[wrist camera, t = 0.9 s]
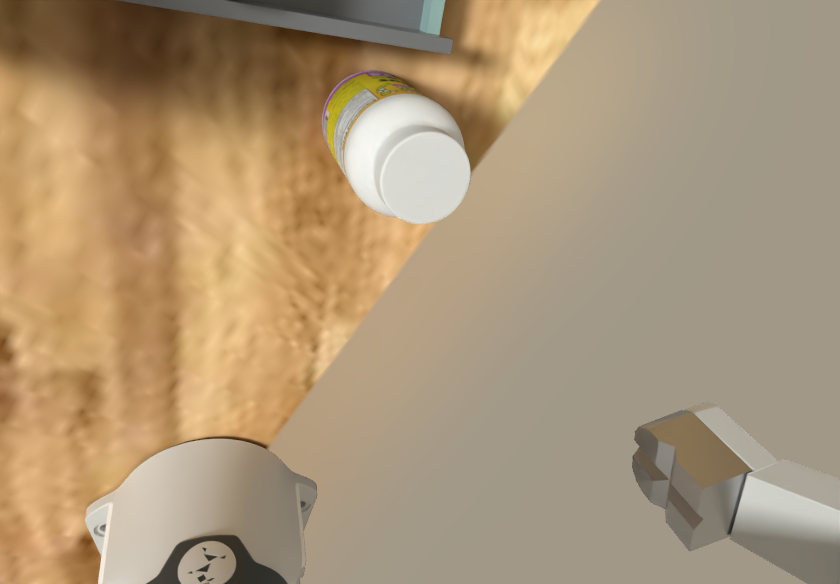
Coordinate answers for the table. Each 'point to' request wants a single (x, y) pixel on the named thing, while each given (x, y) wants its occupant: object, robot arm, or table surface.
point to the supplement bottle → (396, 147)
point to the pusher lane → (334, 18)
